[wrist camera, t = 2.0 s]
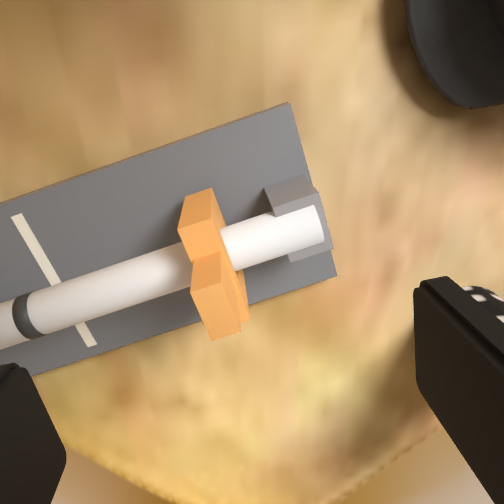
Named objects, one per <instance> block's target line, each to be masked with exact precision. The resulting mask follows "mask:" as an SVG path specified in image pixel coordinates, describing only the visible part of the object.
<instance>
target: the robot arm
mask: <svg viewBox="0 0 504 504" xmlns="http://www.w3.org/2000/svg"><path fill="white" fill-rule="evenodd" d="M413 303H414V331H415V360H416V381H417V385H418V388H419V390H420V392H421V394H422V396H423V397H424V399H425V400H426V402H427V403H428V405H429V406H430V408H431V409H432V411H433V412H434V414H435V415H436V417H437V418H438V420H439V421H440V423H441V424H442V426H443V427H444V429H445V430H446V431H447V433H448V434H449V436H450V437H451V439H452V441H453V442H454V444H455V445H456V447H457V448H458V450H459V451H460V453H461V454H462V456H463V457H464V458H465V460H466V461H467V463H468V465H469V466H470V467H471V469H472V470H473V472H474V473H475V475H476V476H477V478H478V479H479V481H480V482H481V484H482V485H483V487H484V488H485V490H486V491H487V493H488V494H489V496H490V497H491V499H492V500H493V502H494V503H495V504H504V323H503V322H502V321H501V320H500V319H499V318H497V317H496V316H495V315H494V314H492V313H491V312H490V311H489V310H488V309H486V308H485V307H484V306H483V305H482V304H480V303H479V302H478V301H477V300H476V299H474V298H473V297H472V296H471V295H470V294H468V293H467V292H466V291H465V290H464V289H462V288H461V287H460V286H459V285H458V284H456V283H455V282H454V281H453V280H452V279H450V278H449V277H447V276H443V277H438V278H433V279H428V280H423V281H421V283H420V287H419V288H415V289H414V292H413ZM65 464H66V451H65V448H64V446H63V444H62V442H61V440H60V438H59V435H58V433H57V431H56V429H55V427H54V425H53V423H52V421H51V418H50V416H49V414H48V412H47V410H46V408H45V406H44V404H43V402H42V399H41V397H40V395H39V393H38V391H37V389H36V387H35V385H34V382H33V380H32V378H31V376H30V374H29V372H28V370H27V369H26V368H24V367H20V366H19V365H18V364H17V363H9V364H4V365H0V504H51V501H52V499H53V496H54V494H55V491H56V488H57V486H58V483H59V481H60V478H61V475H62V473H63V471H64V468H65Z"/></svg>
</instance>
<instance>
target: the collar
mask: <svg viewBox="0 0 504 504" xmlns="http://www.w3.org/2000/svg"><path fill="white" fill-rule="evenodd" d="M224 227H226V224H225V221H224V219H223V216H222V213H221V211H220V208H219V205H218V203H217V200H216V197H215V195H214V192H213V189H212V187H211V188H209V189H206V190H203V191H200V192H197V193H194V194H191V195H188V196H185V199H184V203H183V208H182V212H181V216H180V220H179V224H178V228H177V231H178V233H179V235H180V238H181V240H182V242H183V245H184V247H185V249H186V252H187V254H188V256H189V259H190V261H191V263H192V266H193V270H192V279H191V288H190V294H191V296H192V298H193V300H194V303H195V305H196V307H197V310H198V312H199V314H200V316H201V319H202V321H203V323H204V325H205V328H206V330H207V332H208V334H209V337H210V339H211V341H213V340H216V339H219V338H222V337H226V336H229V335H232V334H235V333H238V332H241V327H240V323H243V322H246V321H249V320H251V319H250V313H249V306H248V299H247V293H246V286H245V279H244V273H243V269H241V270H238V271H235V270H234V268H233V265H232V262H231V260H230V257H229V255H228V252H227V249H226V247H225V244H224V241H223V239H222V236H221V232H220V229H221V228H224Z"/></svg>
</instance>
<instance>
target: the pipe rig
mask: <svg viewBox="0 0 504 504" xmlns="http://www.w3.org/2000/svg"><path fill="white" fill-rule="evenodd" d="M211 187H212V189H213V192H214V195H215V197H216V200H217V203H218V205H219V208H220V211H221V213H222V216H223V219H224V221H225V224H226V227H224V228H221V229H220V232H221V236H222V239H223V241H224V244H225V247H226V249H227V252H228V255H229V257H230V260H231V262H232V265H233V268H234V270H235V271H238V270H241V269H243V273H244V279H245V286H246V293H247V299H248V305H250V304H253V303H256V302H259V301H262V300H265V299H268V298H272V297H275V296H278V295H281V294H284V293H287V292H290V291H293V290H296V289H299V288H302V287H305V286H308V285H311V284H314V283H317V282H320V281H323V280H326V279H329V278H332V277H335V276H337V272H336V269H335V265H334V262H333V258H332V254H331V251H330V250H331V249H334V247H333V244H332V240H331V236H330V232H329V229H328V225H327V221H326V218H325V214H324V210H323V207H322V203H321V199H320V195H319V192H318V191H317V190H316V189H315V188H314V187H313V185H312V181H311V177H310V174H309V170H308V166H307V163H306V159H305V156H304V152H303V148H302V145H301V141H300V137H299V134H298V130H297V126H296V123H295V119H294V115H293V112H292V108H291V104H290V103H288V102H286V103H283V104H280V105H278V106H275V107H272V108H269V109H266V110H263V111H260V112H258V113H255V114H252V115H249V116H246V117H243V118H241V119H238V120H235V121H232V122H229V123H226V124H223V125H221V126H218V127H215V128H212V129H209V130H206V131H204V132H201V133H198V134H195V135H192V136H189V137H186V138H184V139H181V140H178V141H175V142H172V143H169V144H167V145H164V146H161V147H158V148H155V149H152V150H149V151H147V152H144V153H141V154H138V155H135V156H132V157H130V158H127V159H124V160H121V161H118V162H115V163H112V164H110V165H107V166H104V167H101V168H98V169H95V170H93V171H90V172H87V173H84V174H81V175H78V176H75V177H73V178H70V179H67V180H64V181H61V182H58V183H56V184H53V185H50V186H47V187H44V188H41V189H38V190H36V191H33V192H30V193H27V194H24V195H21V196H19V197H16V198H13V199H10V200H7V201H4V202H1V203H0V365H4V364H9V363H17V364H18V365H19V366H20V367H24V368H26V369H27V370H28V372H29V374H30V376H34V375H37V374H40V373H43V372H47V371H50V370H53V369H56V368H59V367H62V366H65V365H68V364H71V363H74V362H77V361H80V360H83V359H86V358H89V357H92V356H95V355H98V354H101V353H104V352H107V351H110V350H113V349H116V348H119V347H123V346H126V345H129V344H132V343H135V342H138V341H141V340H144V339H147V338H150V337H153V336H156V335H159V334H162V333H165V332H168V331H171V330H174V329H177V328H180V327H183V326H186V325H189V324H192V323H196V322H199V321H202V319H201V316H200V314H199V312H198V310H197V307H196V305H195V303H194V300H193V298H192V296H191V294H190V288H191V279H192V270H193V266H192V263H191V261H190V259H189V256H188V254H187V252H186V249H185V247H184V245H183V242H182V240H181V238H180V235H179V233H178V231H177V228H178V224H179V220H180V216H181V212H182V208H183V203H184V199H185V196H188V195H191V194H194V193H197V192H200V191H203V190H206V189H209V188H211Z"/></svg>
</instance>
